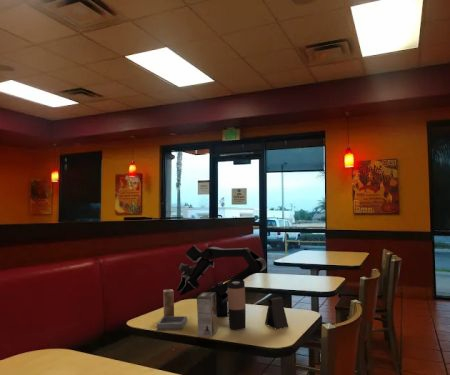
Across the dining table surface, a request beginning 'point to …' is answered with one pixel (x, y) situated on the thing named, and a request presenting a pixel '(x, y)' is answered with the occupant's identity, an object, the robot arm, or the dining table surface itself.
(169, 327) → the tray
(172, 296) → the tan cylinder
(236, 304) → the travel mug
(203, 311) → the coffee box
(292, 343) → the dining table surface
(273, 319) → the door stopper
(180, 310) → the dining table surface
